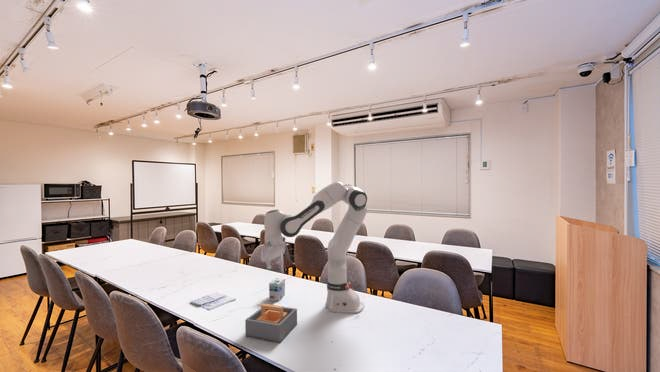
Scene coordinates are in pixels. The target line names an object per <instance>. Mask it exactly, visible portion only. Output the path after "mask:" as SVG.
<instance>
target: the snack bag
mask: <svg viewBox="0 0 660 372" xmlns="http://www.w3.org/2000/svg"><path fill="white" fill-rule="evenodd" d="M236 299H237V298H234V297H231V296H227V295H226V294H225V293H224V294H223V293H220V292H218V291H214V292H212V293H210V294H207V295H204V296H202V297H199V298H195V299H194V300H191V301H189V302H190V304H192V305H195V306H198V307H199V308H202V309H205V310H207V311H211V310H214V309H216V308H218V307H221V306H224V305H227V304H229V303H231V302H234V301H236Z"/></svg>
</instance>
